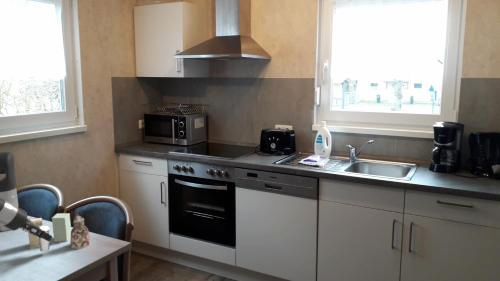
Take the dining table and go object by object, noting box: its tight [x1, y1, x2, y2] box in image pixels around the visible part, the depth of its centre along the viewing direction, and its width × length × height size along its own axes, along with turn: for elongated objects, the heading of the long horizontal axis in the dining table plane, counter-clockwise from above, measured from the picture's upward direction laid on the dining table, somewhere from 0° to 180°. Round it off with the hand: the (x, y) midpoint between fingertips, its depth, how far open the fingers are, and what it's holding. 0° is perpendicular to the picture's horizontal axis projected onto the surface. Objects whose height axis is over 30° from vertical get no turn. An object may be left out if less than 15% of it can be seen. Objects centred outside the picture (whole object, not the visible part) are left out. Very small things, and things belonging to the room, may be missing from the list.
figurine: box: [70, 213, 91, 250], centre depth 160 cm, size 7×7×12 cm
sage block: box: [51, 212, 72, 243], centre depth 165 cm, size 5×5×10 cm
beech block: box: [27, 217, 43, 250], centre depth 160 cm, size 5×5×10 cm
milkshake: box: [37, 225, 50, 252], centre depth 151 cm, size 4×5×10 cm
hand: (47, 236), depth 153 cm, fingers closed on milkshake, 4 cm apart
